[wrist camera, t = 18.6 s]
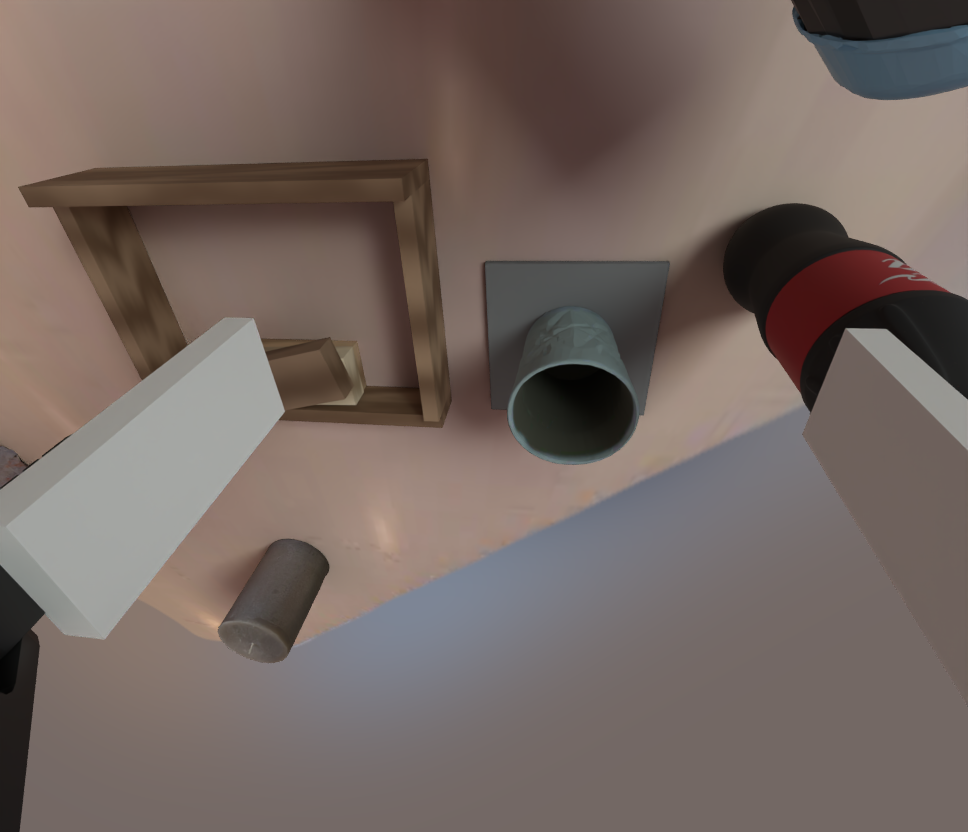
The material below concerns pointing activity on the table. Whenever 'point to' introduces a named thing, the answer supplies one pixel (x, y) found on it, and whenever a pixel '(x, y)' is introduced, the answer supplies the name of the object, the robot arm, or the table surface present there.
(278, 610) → the pillar candle
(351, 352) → the birch offcut
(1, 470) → the food item
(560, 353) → the grey cup
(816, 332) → the cola bottle
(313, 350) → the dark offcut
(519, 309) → the charcoal mat
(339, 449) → the table surface
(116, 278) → the frame
